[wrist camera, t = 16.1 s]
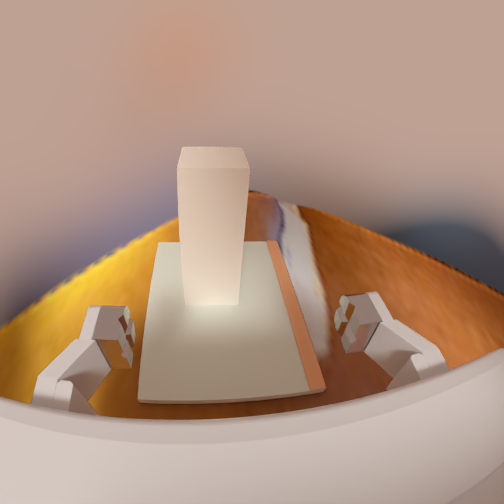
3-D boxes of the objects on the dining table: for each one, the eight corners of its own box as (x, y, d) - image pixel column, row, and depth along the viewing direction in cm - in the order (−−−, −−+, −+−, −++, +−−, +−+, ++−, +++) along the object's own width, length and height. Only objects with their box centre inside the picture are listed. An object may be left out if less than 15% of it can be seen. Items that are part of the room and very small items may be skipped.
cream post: (233, 270, 29) (242, 147, 21) (238, 304, 25) (250, 168, 18) (186, 271, 28) (182, 147, 21) (185, 305, 24) (177, 167, 17)
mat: (276, 245, 34) (276, 240, 33) (323, 391, 19) (326, 387, 19) (159, 246, 31) (158, 241, 31) (139, 402, 17) (137, 398, 17)
